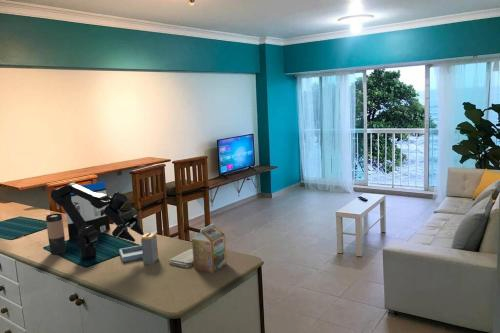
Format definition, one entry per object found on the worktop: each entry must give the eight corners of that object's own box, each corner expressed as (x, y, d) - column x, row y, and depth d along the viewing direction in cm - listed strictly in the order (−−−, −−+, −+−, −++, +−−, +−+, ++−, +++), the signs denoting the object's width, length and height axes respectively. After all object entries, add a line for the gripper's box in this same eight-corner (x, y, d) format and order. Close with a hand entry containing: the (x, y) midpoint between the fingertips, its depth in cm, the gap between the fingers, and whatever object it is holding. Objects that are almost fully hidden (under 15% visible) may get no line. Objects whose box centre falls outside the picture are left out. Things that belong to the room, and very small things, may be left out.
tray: (123, 262, 198) (122, 257, 197) (119, 253, 209) (119, 249, 209) (149, 257, 203) (149, 252, 202) (145, 249, 214) (144, 244, 214)
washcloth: (167, 265, 193) (167, 259, 192) (191, 252, 208) (190, 246, 208) (188, 269, 187) (187, 263, 186) (210, 255, 202) (210, 249, 202)
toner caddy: (143, 263, 195) (140, 235, 193) (148, 258, 201) (146, 231, 199) (153, 263, 194) (150, 236, 192) (158, 258, 200) (156, 231, 198)
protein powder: (113, 230, 248) (108, 182, 243) (72, 241, 232) (65, 189, 227) (107, 227, 255) (101, 180, 250) (66, 237, 239) (59, 187, 234)
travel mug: (69, 250, 218) (65, 213, 215) (57, 255, 211) (52, 218, 208) (59, 249, 221) (54, 212, 218) (47, 254, 214) (42, 216, 211)
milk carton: (212, 272, 181) (210, 231, 178) (194, 268, 186) (191, 228, 183) (226, 264, 190) (224, 224, 187) (208, 260, 195) (205, 221, 192)
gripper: (115, 209, 186) (140, 232, 186) (134, 199, 204) (157, 220, 204) (101, 226, 189) (126, 249, 189) (121, 214, 207) (143, 235, 207)
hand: (139, 237), depth 197 cm, fingers open, 9 cm apart
